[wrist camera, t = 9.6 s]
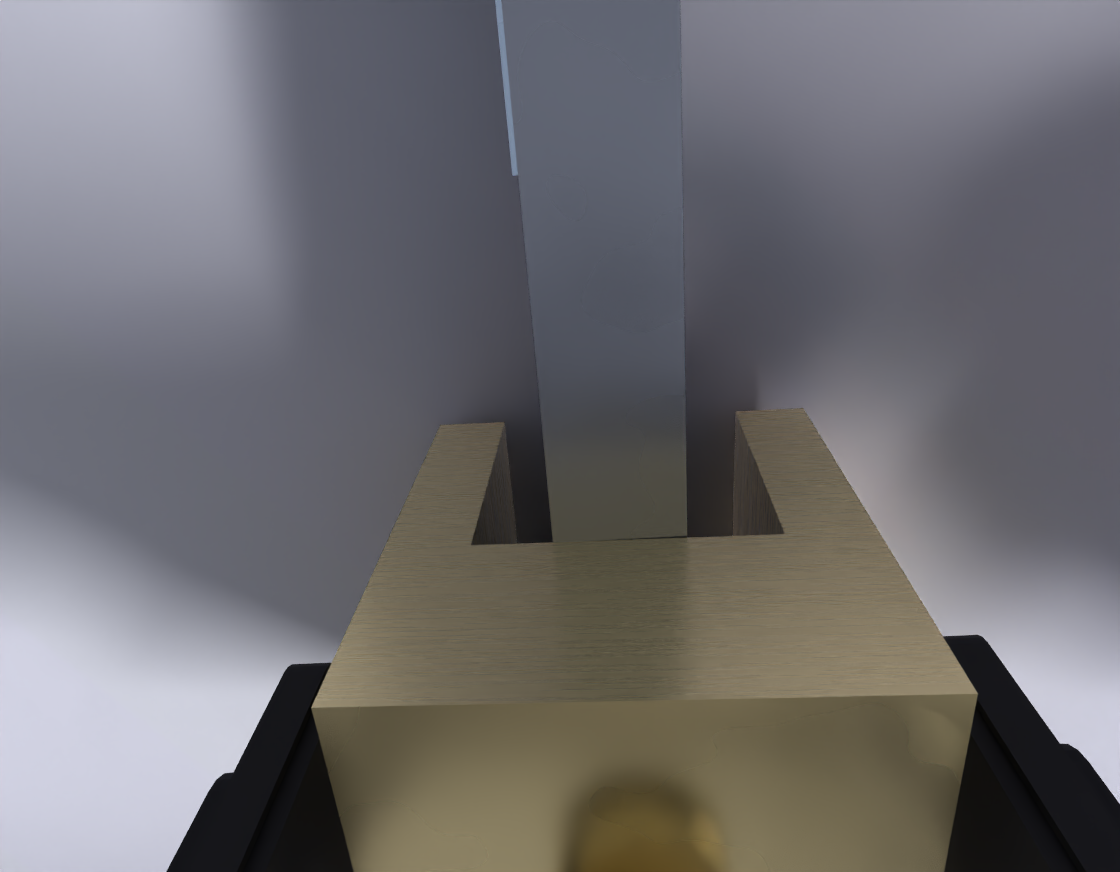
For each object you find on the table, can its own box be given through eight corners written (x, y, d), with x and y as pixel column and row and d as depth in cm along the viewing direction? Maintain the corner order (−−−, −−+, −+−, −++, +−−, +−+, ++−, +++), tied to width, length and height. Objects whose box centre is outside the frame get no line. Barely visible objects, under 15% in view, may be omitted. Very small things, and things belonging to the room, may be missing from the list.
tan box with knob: (803, 407, 12) (1055, 822, 5) (784, 715, 14) (941, 1256, 8) (440, 424, 12) (254, 829, 6) (482, 720, 15) (388, 1241, 8)
